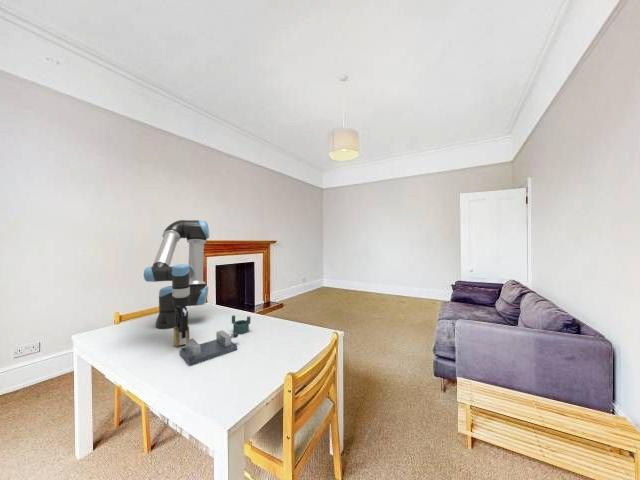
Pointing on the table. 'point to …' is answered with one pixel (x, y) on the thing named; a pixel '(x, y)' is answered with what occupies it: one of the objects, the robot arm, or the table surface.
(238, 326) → the bracket
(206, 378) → the table surface
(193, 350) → the vise
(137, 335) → the table surface
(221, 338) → the free jaw
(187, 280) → the robot arm
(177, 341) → the brass block
